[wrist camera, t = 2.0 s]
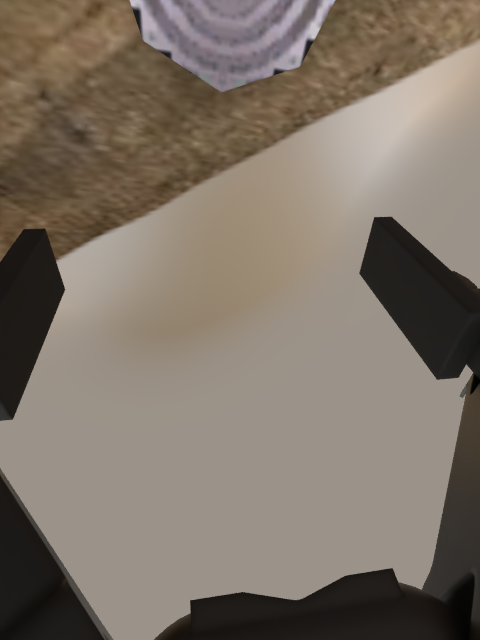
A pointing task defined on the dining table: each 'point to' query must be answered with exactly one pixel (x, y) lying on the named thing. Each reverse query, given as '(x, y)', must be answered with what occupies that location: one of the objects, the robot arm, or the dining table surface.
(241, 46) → the can
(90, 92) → the dining table surface
